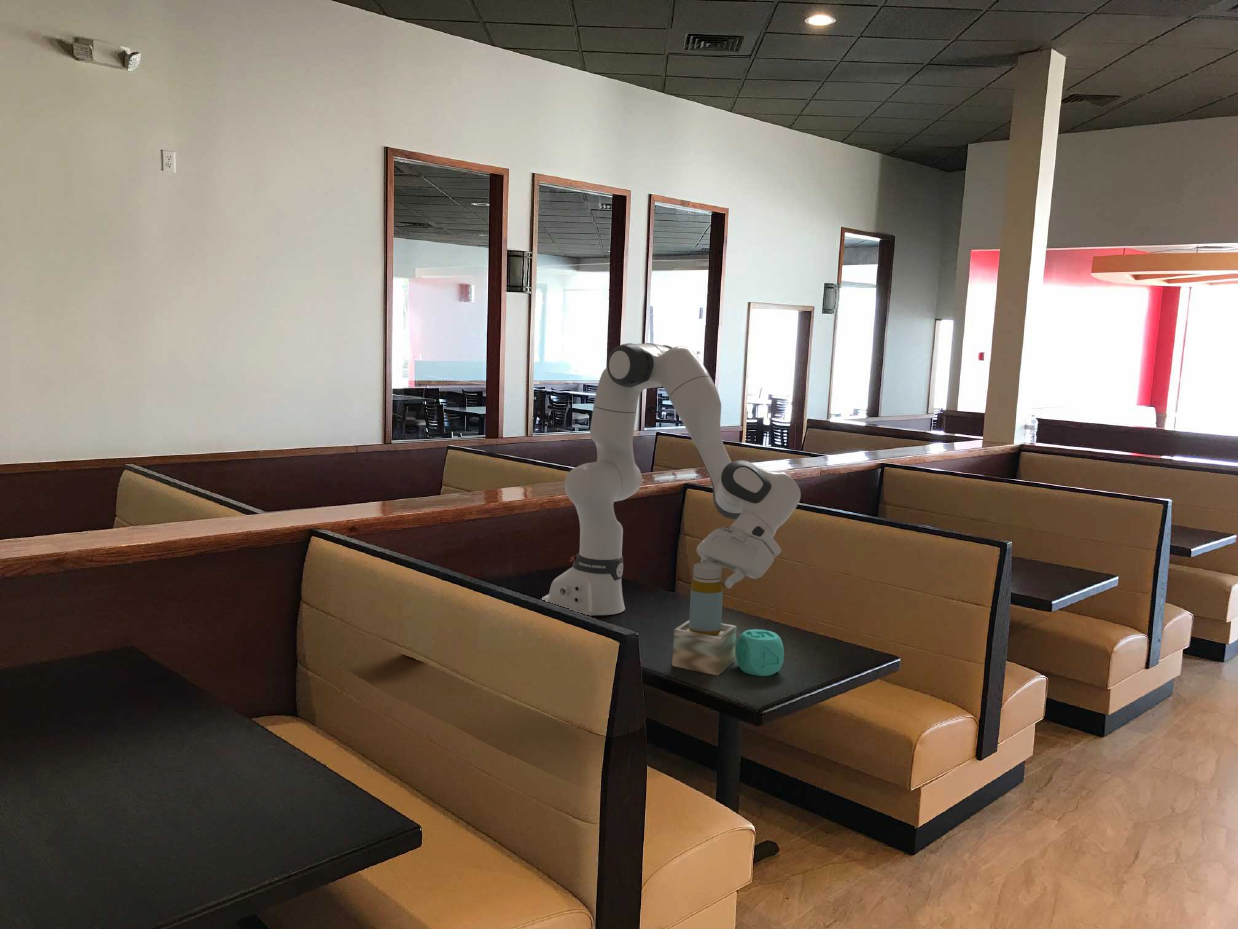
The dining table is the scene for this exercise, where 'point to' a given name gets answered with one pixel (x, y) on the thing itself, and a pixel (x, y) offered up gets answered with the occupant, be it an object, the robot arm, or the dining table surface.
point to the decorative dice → (759, 652)
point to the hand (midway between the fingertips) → (711, 580)
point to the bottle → (706, 599)
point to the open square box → (704, 649)
